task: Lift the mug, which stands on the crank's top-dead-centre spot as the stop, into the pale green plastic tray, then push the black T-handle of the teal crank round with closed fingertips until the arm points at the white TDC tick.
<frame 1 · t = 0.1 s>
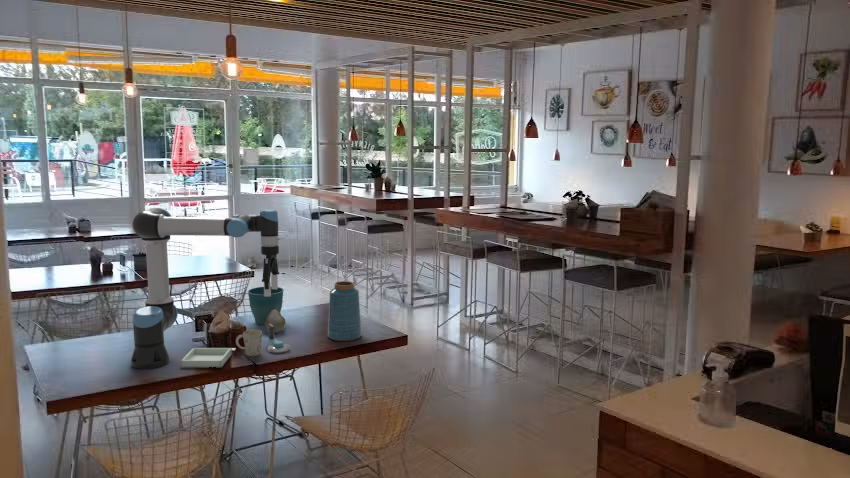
hand: (271, 292, 293), 28 cm above the table, fingers open, 13 cm apart
tray: (207, 360, 286), on the table
flower pot: (266, 322, 347), on the table
pedestal: (278, 349, 302), on the table
vase: (344, 337, 322), on the table
fruit: (275, 332, 329), on the table
mug: (248, 353, 296), on the table
crank: (274, 335, 305), point 5 cm above the table, hinge at 0.0°
tdc tick: (231, 349, 301), on the table
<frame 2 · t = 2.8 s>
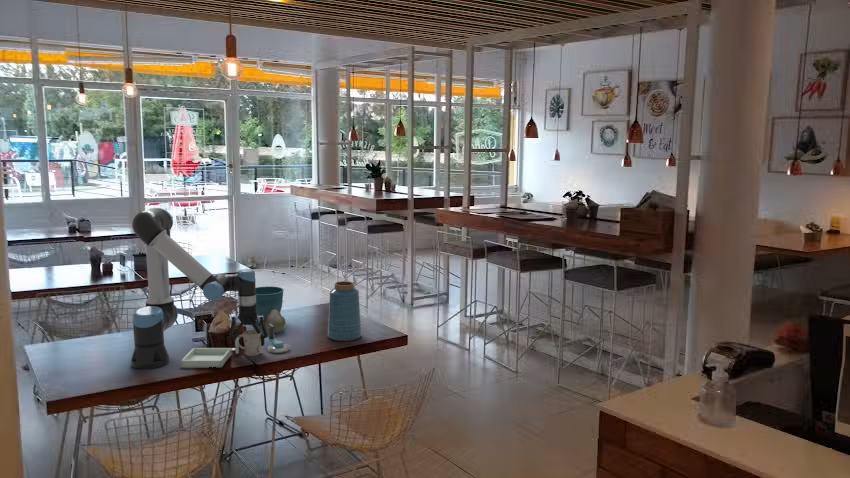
hand: (249, 352, 296), 0 cm above the table, fingers closed on mug, 10 cm apart
mug: (248, 353, 297), on the table, touching gripper
everything else where it was.
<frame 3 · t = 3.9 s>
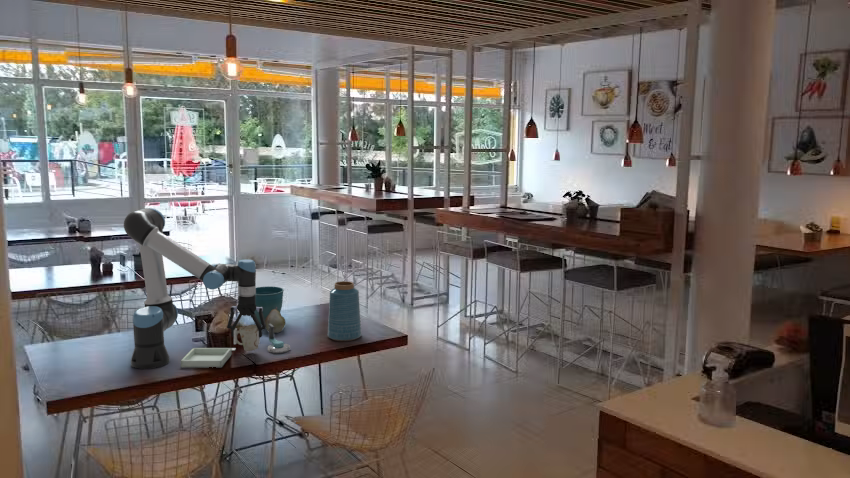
hand: (246, 343, 296), 4 cm above the table, fingers open, 9 cm apart
mug: (247, 349, 296), point 2 cm above the table, touching gripper
everything else where it was.
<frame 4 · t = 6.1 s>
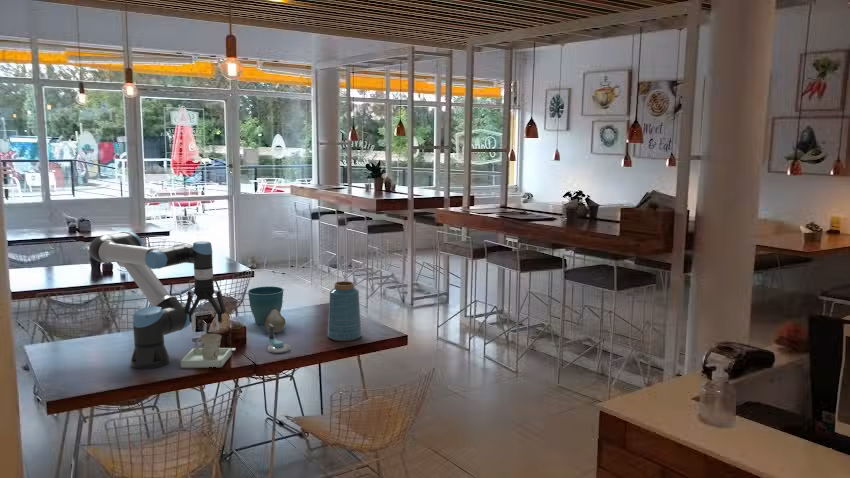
hand: (206, 329, 284), 14 cm above the table, fingers open, 9 cm apart
mug: (206, 358, 287), point 1 cm above the table, touching tray
everything else where it was.
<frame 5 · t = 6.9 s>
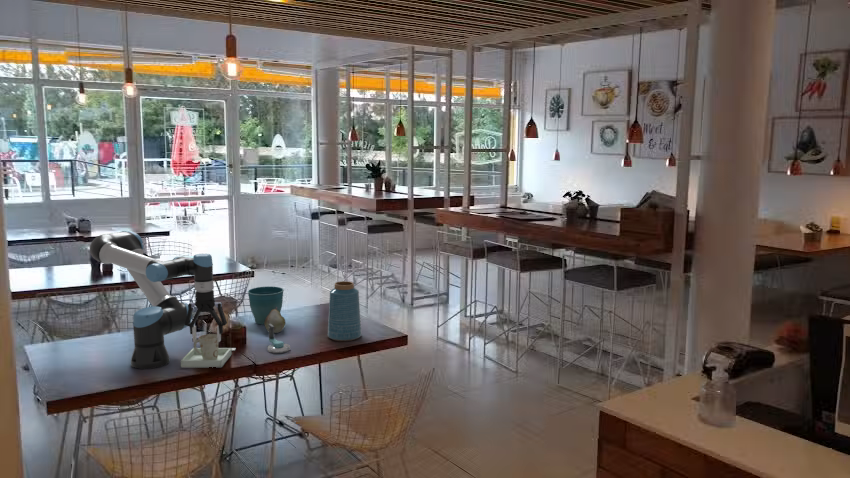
hand: (207, 341, 285), 9 cm above the table, fingers open, 10 cm apart
mug: (206, 359, 287), resting on tray, touching gripper
everything else where it was.
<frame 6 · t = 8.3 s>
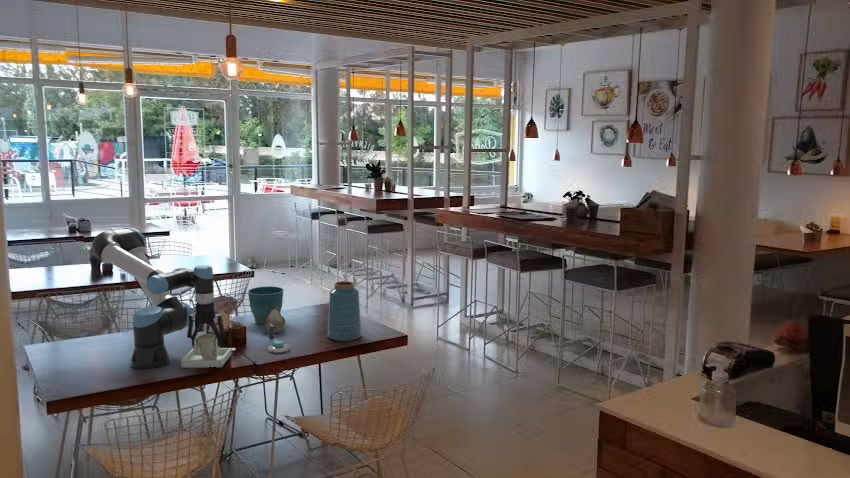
hand: (207, 353, 285), 3 cm above the table, fingers closed on mug, 8 cm apart
mug: (206, 358, 287), point 1 cm above the table, touching gripper, tray
everything else where it was.
when the fingers open (3 cm above the table, at t = 8.3 s): mug stays where it is, resting on tray.
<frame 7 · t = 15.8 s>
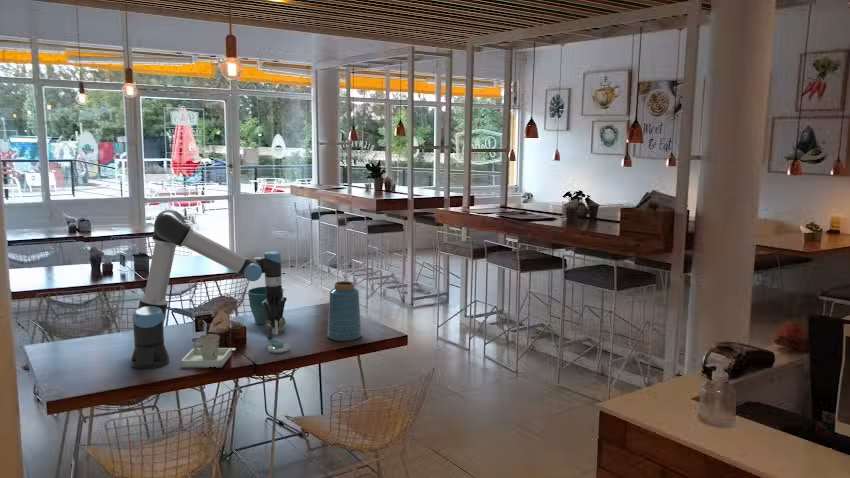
hand: (275, 333, 311), 4 cm above the table, fingers closed
mug: (206, 359, 287), resting on tray
crank: (274, 335, 305), point 5 cm above the table, hinge at 4.5°, touching gripper
everything else where it was.
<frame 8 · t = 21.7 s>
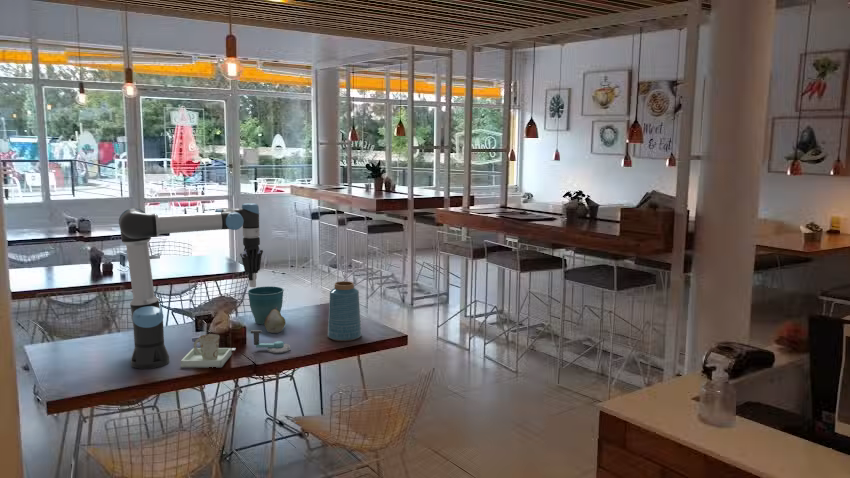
hand: (252, 286, 310), 26 cm above the table, fingers closed
crank: (267, 338, 301), point 5 cm above the table, hinge at 61.6°
everything else where it was.
at the end: mug inside the target area on the tray (1.4 cm from its centre), point 0.4 cm above the tray's base; mug tilted 0°; crank at +62° (first picture: +0°) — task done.
